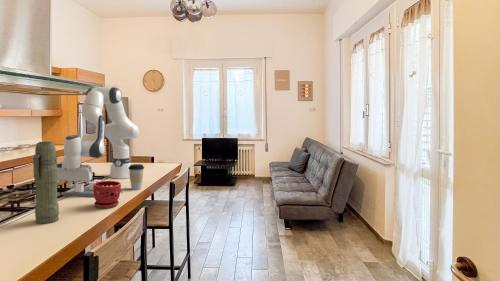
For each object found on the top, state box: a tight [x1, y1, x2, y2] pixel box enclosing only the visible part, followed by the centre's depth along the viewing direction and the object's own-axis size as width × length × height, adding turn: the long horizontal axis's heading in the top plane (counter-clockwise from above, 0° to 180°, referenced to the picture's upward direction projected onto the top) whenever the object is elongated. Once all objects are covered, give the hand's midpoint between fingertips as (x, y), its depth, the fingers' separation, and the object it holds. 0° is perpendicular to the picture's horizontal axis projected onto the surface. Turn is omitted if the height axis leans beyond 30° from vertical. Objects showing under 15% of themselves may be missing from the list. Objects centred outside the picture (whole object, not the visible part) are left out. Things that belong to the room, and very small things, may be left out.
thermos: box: [32, 141, 60, 225], centre depth 146 cm, size 9×12×35 cm
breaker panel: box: [62, 186, 98, 198], centre depth 196 cm, size 16×18×2 cm
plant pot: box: [93, 180, 122, 209], centre depth 172 cm, size 13×13×12 cm
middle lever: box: [88, 181, 96, 190], centre depth 196 cm, size 3×3×4 cm
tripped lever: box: [76, 183, 85, 192], centre depth 190 cm, size 3×3×4 cm
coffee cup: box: [128, 163, 145, 191], centre depth 209 cm, size 9×9×15 cm
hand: (73, 188), depth 190 cm, fingers closed
